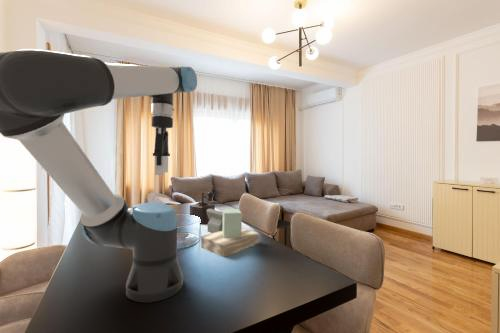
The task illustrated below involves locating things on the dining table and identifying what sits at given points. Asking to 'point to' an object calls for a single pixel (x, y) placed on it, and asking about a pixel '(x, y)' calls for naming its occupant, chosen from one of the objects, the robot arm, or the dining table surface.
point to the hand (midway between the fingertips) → (162, 173)
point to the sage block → (232, 223)
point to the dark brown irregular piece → (202, 208)
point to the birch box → (229, 242)
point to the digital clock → (215, 220)
